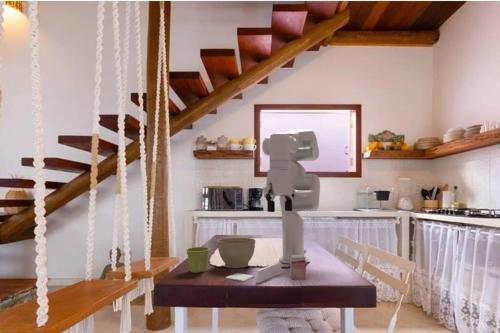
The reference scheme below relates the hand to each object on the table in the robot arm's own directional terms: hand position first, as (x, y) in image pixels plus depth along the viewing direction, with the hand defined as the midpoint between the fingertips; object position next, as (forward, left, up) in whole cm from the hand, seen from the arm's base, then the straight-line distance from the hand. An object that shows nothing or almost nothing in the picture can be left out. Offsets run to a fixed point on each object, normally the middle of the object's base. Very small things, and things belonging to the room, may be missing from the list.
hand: (280, 211), depth 123 cm
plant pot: (+11, -32, -24) cm, 41 cm away
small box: (-1, +6, -24) cm, 25 cm away
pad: (+10, -12, -24) cm, 28 cm away
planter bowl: (-4, -24, -24) cm, 34 cm away
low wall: (+4, -3, -24) cm, 24 cm away
